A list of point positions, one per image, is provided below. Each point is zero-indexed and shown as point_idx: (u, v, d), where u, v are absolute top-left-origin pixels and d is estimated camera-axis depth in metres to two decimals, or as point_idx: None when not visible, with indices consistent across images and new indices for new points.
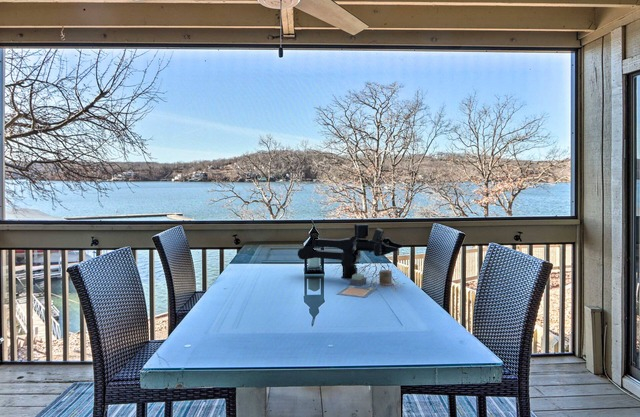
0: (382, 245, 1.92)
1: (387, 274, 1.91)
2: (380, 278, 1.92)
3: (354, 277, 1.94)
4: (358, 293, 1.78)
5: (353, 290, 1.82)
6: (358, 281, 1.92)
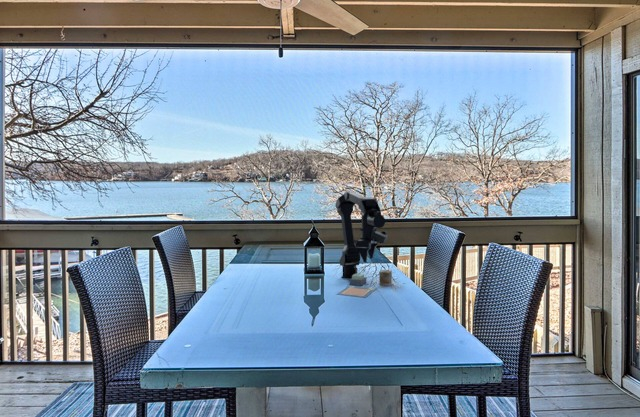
0: (366, 248, 1.81)
1: (387, 274, 1.91)
2: (380, 278, 1.92)
3: (354, 277, 1.94)
4: (358, 293, 1.78)
5: (353, 290, 1.82)
6: (358, 281, 1.92)
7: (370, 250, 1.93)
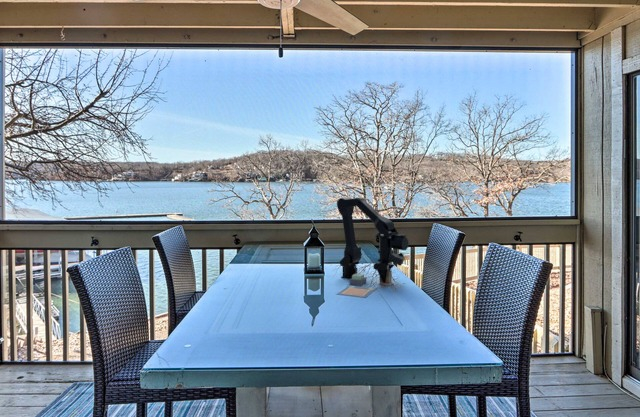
0: (386, 270, 1.88)
1: (387, 274, 1.91)
2: (380, 278, 1.92)
3: (354, 277, 1.94)
4: (358, 293, 1.78)
5: (353, 290, 1.82)
6: (358, 281, 1.92)
7: None
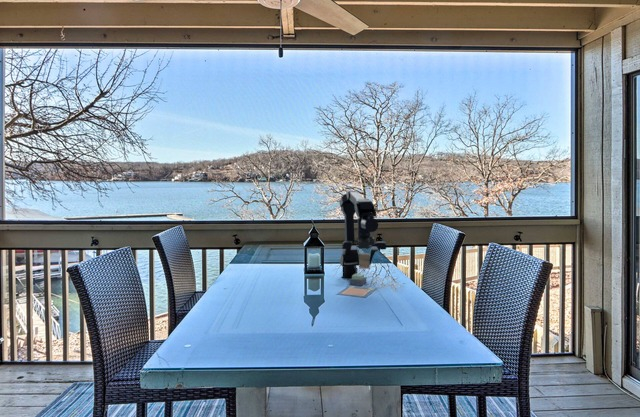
0: None
1: (359, 256, 1.82)
2: None
3: (354, 277, 1.94)
4: (358, 293, 1.78)
5: (353, 290, 1.82)
6: (358, 281, 1.92)
7: None
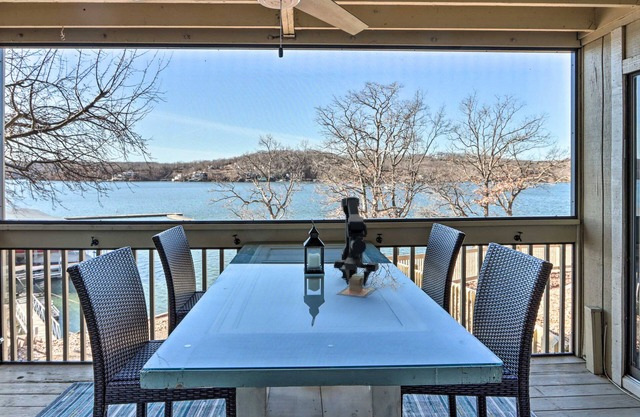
0: None
1: None
2: None
3: None
4: (357, 293, 1.78)
5: None
6: None
7: None
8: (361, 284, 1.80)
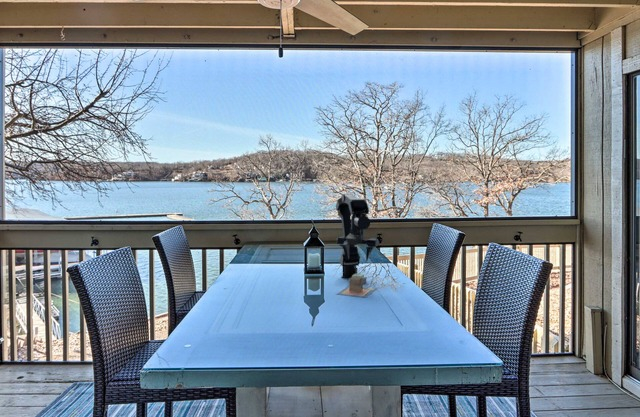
0: None
1: None
2: None
3: None
4: (357, 293, 1.78)
5: None
6: None
7: None
8: (361, 284, 1.80)
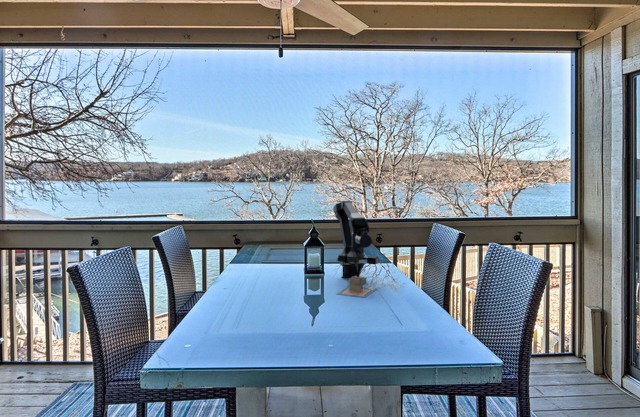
0: None
1: None
2: None
3: None
4: (357, 293, 1.78)
5: None
6: None
7: None
8: (361, 284, 1.80)
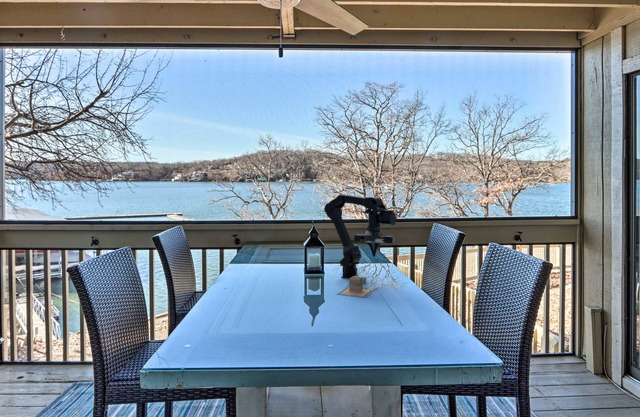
0: None
1: None
2: None
3: None
4: (357, 293, 1.78)
5: None
6: None
7: None
8: (361, 284, 1.80)
